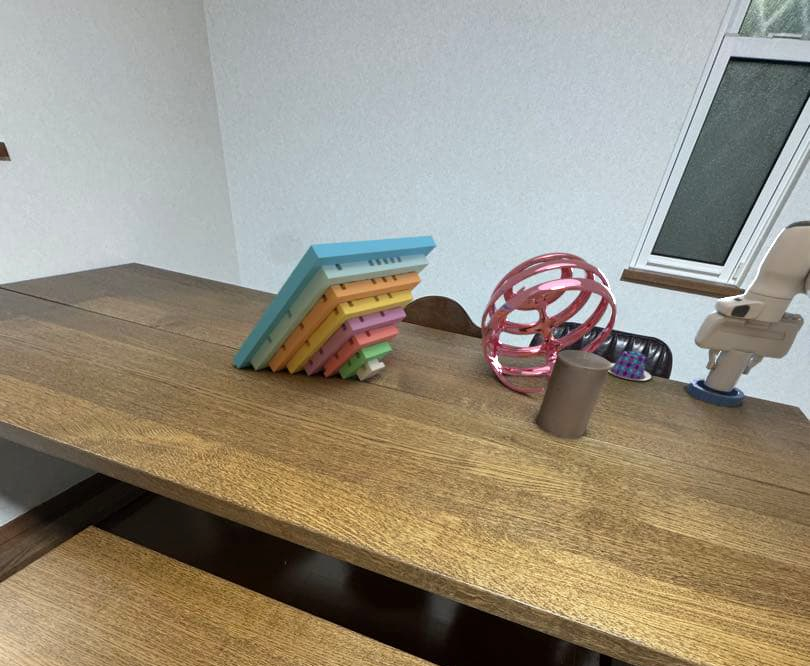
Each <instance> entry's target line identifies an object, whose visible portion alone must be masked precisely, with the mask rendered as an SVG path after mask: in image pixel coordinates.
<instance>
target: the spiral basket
mask: <svg viewBox="0 0 810 666" xmlns="http://www.w3.org/2000/svg"><path fill="white" fill-rule="evenodd" d="M573 269H579V270H582V271H583V275H584V276H583V277H574V272H573ZM553 270H560V278H556V279H551V280H548V281H545V282H541V283H538V284H535V285H533V286H530V287H529V288H526V285H524V286H522V287H521V288H520V289H518V290H517V291H516V292H514V291H515V290H514V286H517V285H518V284H520V283H521V282H523V281H525V280H527V279H529V278H531V277H533V276H536V275H539V274H542V273H544V272H545V273H546V272H548V271H553ZM595 276H596V277H598V279H599V280H600V281H601V282H599V281H596V278H595ZM569 291H579V293H578V295H577V296H576V297H575V298H574V300H573V301H572V302H571V303H570V304H569V305H568V306H566V307H565V308H564V309H562V310H561V311H559V312H558V313H556V314H553V316H550V315H548V312H547V308H548V306H550V305H551V304H554V303H555V302H557V300H559V299H560V298H561V297H562V296H563V295H564V294H565V293H566V292H569ZM592 294H595V295H598V296H600V297H601V298H600V299H599V302H598V304H597V306H596V307H595V309H594V311H593V312H592V313H591V315H590V316H589V317H588V318H587V319H586V320H585V321H583V323H581V324H580V325H578V327H576V328H575V329H573V330H572V331H570V332H569V333H567V334H565V335H563V336H562V337H560V338H559V337H558V338H555V337H554V335H553V331H554V330H555V328H557V327H559V326H561V325H563V324H564V323H566V322H567V321H569V320H570V319H572V318H573V317H574V316H575V315H577V314H578V313H579V312H580V311H581V310H582V309H583V308H584V306H586V304H587V303H588V302H589V300H590V298H591V296H592ZM502 296H503V299H504V301H505V302H504V303H503V304H502V305H501V306H500V307H499V308H498V309H497V305H496V302H497V301H498V300H499V299H500V298H501V297H502ZM609 306H610V309H611V313H610V317H609V320H608V322H607V323H606V325H605V327H604V328H603V329H602V331H601V332H600V334H598V335H597V337H596V338H594V340H592V341H591V342H590V343H589V344H587V345H586V346H585V347H583V348H582V349H580V350H579V351H584V352H585V351H587V352H588V353H592V354H594V352H595V351H596V350H597V349H599V348H600V347H601V346H602V345H603V343H605V341H606V340H607V339H608V338H609V336H610V335H611V333H612V331H613V329H614V326H615V325H616V320H617V315H618V314H617V313H618V311H617V309H618V308H617V302H616V299H615V297H614V294H613V293H612V292H611V288H610V284H609V281H608V279H607V278H606V276H605V274H604V273H603V272H602V271H601V270H600V269H599V268H597V267H596V266H595V265H593V264H592V263H589V262H588V261H587V260H585V259H583V257H581V256H579V255H576V254H572V253H569V252H558V251H557V252H549V253H543V254H540V255H536V256H533V257H531V258H528V259H526V260H524V261H522V262H521V263H519V264H518V265H516V266H514V267H513V268H512V269H510V270H509V271H508V272H506V274H505V275H504V276H503V277H502V278H501V279H500V280H499V282H498V283H497V285H496V286H495V288H494V289H493V291H492V293H491V295H490V298H489V300H488V302H487V303H486V306H485V308H484V310H483V313H482V317H481V322H480V330H481V331H480V332H481V350H482V353H483V356H484V359H485V361H486V362H487V364H488V365H489V366H490V367H491V369H492V370H493V372H494V374H495V375H496V377H497V379H498V380H499V382H501V383H502V384H503V385H504V386H505V387H507V388H508V389H510V390H512V391H515V392H516V393H520V394H536V393H541V392H543V391H544V390H545V388H544V387H537V388H535V387H534V388H523V387H518V386H515V385H513V384H511V383H510V382H508V380H506V378H505V377H504V375H506V376H522V377H523V376H525V377H539V376H548V378H550V377H551V374H552V370H553V367H554V364H555V361H556V358H557V355H558V353H559V352H561V351H562V350H563V349H564V348H567V347H569V346H571V345H572V344H574V343H576V342H578V341H579V340H580V339H581V338H583V337H585V336H586V335H587V334H588V333H589V332H590V331H592V330H593V329H594V328H595V327H596V325H597V324H598V323H599V322H600V321H601V320H602V318H603V316H604V315H605V313H606V311H607V309H608V307H609ZM515 310H516V311H521V312H530V311H537V312H538V316H539V318H538V320H537V321H534V322H530V323H527V322H526V323H518V322H513V321H510V320H508V316H509V314H512V313H513V312H514V311H515ZM488 316H489V320H488V321H487V318H488ZM502 333H507V334H510V335H515V336H530V335H540V336H541V338H542V341H541V343H540V344H538V345H534V346H512V345H507V344H504V343H502V342H501V340H500V338H501V337H500V336H501V334H502ZM488 350H489V353H488ZM499 355H501V356H505V357H509V358H514V359H515V358H516V359H527V358H528V359H529V358H536V357H543V358H545V363H544V364H543V365H539V366H534V367H514V366H509V365H508V366H507V365H505V364H502V363H501V362H500V360H499V358H498V356H499Z"/></svg>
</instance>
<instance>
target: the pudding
mask: <svg viewBox="0 0 810 666" xmlns="http://www.w3.org/2000/svg"><path fill="white" fill-rule="evenodd" d="M646 362H647V357H646V356H645V355H644V354H643V353H640V352H638V351H632V350H628V351H627V350H625V351H623V352H622V353H621V355H619V358H618V359H617V360H616V362H610V363H611V366H610V368H611V371H610V370H609V371H608V373H610V374H612V375H613V376H616V377H619V378H623V379H626V380H631V381H634V379H635V380H638V381H639V382H640V381H648V380H651V379H652V375H651V374H650V372H648V371H646V370H645V368H646ZM644 376H645V377H644ZM643 377H644V378H643ZM641 378H643V379H641Z"/></svg>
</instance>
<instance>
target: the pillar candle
mask: <svg viewBox="0 0 810 666" xmlns="http://www.w3.org/2000/svg"><path fill="white" fill-rule="evenodd" d="M611 363H612V362H611V361H609V360H607V359H606V358H604V357H602V356H600V355H598V354H595V353H588V352H587V351H585V352H584V351H580V350H576V349H565V350H560V351H559V352H558V353H557V358H556V361H555V364H554V367H553V370H552V374H551V377H549V380H548V383H547V386H546V389H545V392H544V396H543V399H542V401H541V404H540V408H539V410H538V415H537V417H536V419H535V423H536V425H537V426H538V427H539V428H540V429H541V430H542V431H544V432H546V433H548V434H551V435H554V436H557V437H560V438H569V439H570V438H571V439H572V438H579V437H581V436H583V435H584V434H585V432H586V429H587V427H588V424H589V422H590V419H591V417H592V414H593V412H594V410H595V407H596V403H597V401H598V399H599V396H600V394H601V392H602V389H603V386H604V384H605V381H606V378H607V377H608V374H609V372H608V371H610V369H611V367H610V366H611Z"/></svg>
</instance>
